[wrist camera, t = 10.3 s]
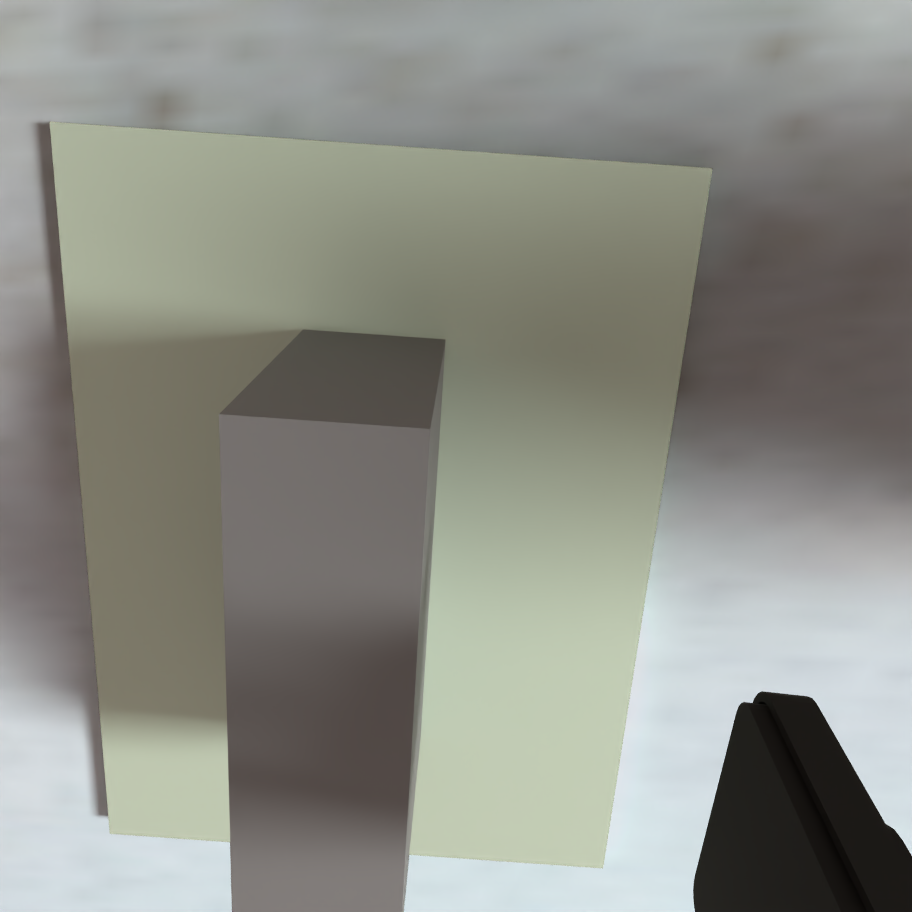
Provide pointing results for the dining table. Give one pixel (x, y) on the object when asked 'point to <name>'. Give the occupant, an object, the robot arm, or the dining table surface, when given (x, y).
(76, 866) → the dining table surface
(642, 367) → the cover plate
